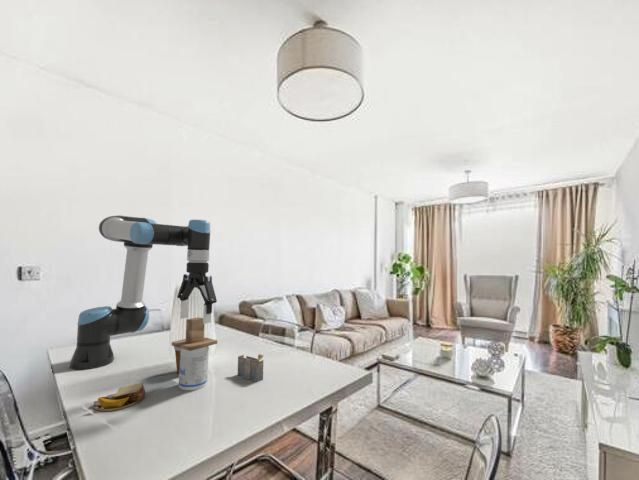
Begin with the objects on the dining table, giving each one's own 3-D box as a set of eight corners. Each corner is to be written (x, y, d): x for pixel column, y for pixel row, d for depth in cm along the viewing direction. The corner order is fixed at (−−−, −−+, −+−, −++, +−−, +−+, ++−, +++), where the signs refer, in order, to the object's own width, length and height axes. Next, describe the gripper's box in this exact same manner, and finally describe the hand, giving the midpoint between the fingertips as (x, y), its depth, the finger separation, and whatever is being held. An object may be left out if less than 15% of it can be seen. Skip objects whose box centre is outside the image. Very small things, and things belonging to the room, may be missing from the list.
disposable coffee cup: (189, 378, 118) (190, 346, 119) (167, 376, 120) (168, 344, 121) (203, 369, 127) (204, 340, 128) (182, 367, 129) (183, 338, 130)
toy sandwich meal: (105, 397, 102) (106, 382, 102) (149, 394, 105) (150, 379, 105) (84, 415, 90) (85, 399, 90) (135, 412, 92) (136, 395, 93)
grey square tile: (127, 387, 109) (127, 385, 109) (160, 376, 119) (160, 375, 119) (144, 395, 102) (144, 394, 102) (178, 384, 112) (178, 383, 112)
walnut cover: (171, 345, 110) (172, 319, 111) (198, 339, 119) (199, 314, 120) (190, 350, 104) (191, 323, 105) (217, 343, 113) (218, 318, 114)
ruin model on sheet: (263, 380, 118) (264, 354, 119) (258, 383, 116) (258, 356, 116) (243, 373, 124) (244, 349, 125) (237, 376, 122) (238, 351, 123)
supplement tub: (173, 386, 110) (175, 344, 111) (198, 379, 117) (200, 339, 118) (186, 394, 104) (188, 350, 105) (212, 386, 111) (214, 344, 112)
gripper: (169, 260, 117) (166, 317, 116) (210, 262, 103) (207, 327, 102) (187, 261, 124) (184, 314, 122) (228, 262, 110) (226, 323, 108)
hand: (195, 320), depth 112 cm, fingers open, 13 cm apart
